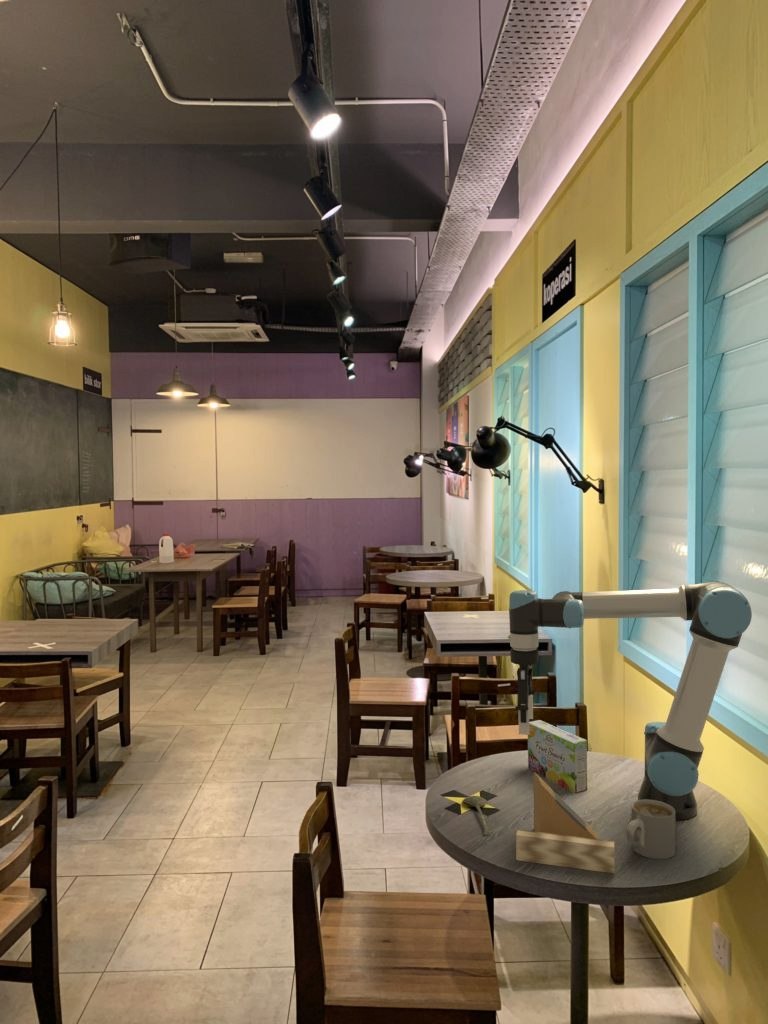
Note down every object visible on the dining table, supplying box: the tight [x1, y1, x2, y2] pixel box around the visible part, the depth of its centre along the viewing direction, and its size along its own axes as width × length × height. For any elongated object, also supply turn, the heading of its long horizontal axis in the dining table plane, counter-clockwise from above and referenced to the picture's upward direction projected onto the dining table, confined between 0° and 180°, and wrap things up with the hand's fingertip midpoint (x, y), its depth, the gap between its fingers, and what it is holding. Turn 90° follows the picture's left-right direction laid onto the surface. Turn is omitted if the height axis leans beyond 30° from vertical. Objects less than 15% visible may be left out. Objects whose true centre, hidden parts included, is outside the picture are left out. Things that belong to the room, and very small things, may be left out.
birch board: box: [515, 828, 616, 874], centre depth 167 cm, size 22×3×6 cm, turn 74°
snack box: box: [527, 719, 588, 794], centre depth 217 cm, size 21×6×15 cm, turn 28°
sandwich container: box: [533, 771, 600, 839], centre depth 181 cm, size 9×15×15 cm, turn 91°
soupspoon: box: [462, 795, 491, 836], centre depth 193 cm, size 22×3×7 cm
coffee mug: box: [625, 799, 676, 860], centre depth 174 cm, size 13×10×10 cm
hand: (526, 726), depth 195 cm, fingers open, 13 cm apart
